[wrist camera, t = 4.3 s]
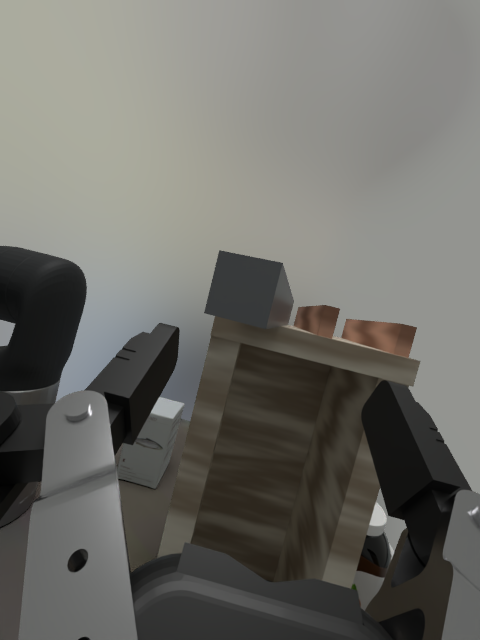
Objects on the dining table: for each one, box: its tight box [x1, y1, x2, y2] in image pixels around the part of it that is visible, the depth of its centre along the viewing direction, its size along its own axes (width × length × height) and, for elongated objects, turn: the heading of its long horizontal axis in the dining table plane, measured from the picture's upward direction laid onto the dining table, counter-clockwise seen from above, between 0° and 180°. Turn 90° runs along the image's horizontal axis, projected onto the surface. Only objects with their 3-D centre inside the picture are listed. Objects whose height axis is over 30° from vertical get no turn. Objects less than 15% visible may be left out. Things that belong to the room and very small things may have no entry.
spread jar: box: [351, 502, 394, 611], centre depth 35 cm, size 12×11×12 cm
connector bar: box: [204, 251, 294, 329], centre depth 22 cm, size 21×3×3 cm, turn 166°
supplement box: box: [117, 397, 185, 489], centre depth 46 cm, size 7×7×13 cm
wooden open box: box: [157, 305, 420, 589], centre depth 27 cm, size 13×16×34 cm
